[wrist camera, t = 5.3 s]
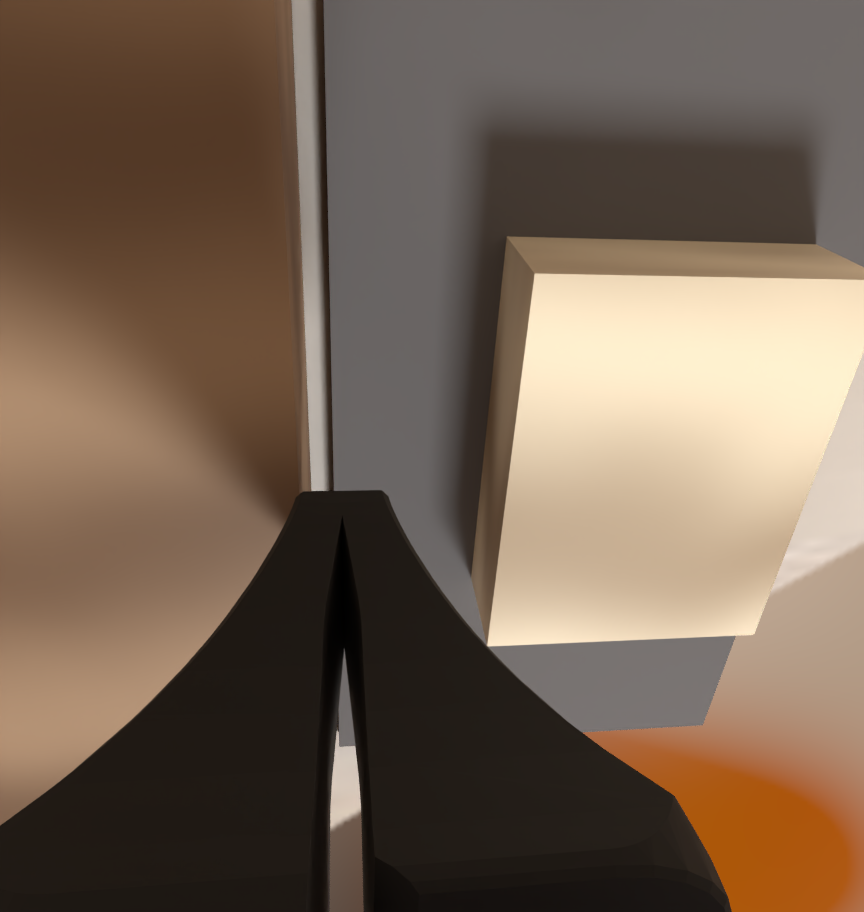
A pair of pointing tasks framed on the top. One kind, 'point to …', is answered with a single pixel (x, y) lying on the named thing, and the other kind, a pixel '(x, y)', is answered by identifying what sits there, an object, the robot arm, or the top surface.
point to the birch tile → (655, 432)
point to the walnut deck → (139, 352)
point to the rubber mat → (554, 236)
